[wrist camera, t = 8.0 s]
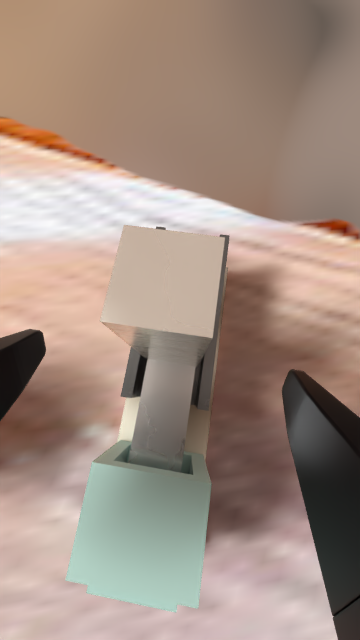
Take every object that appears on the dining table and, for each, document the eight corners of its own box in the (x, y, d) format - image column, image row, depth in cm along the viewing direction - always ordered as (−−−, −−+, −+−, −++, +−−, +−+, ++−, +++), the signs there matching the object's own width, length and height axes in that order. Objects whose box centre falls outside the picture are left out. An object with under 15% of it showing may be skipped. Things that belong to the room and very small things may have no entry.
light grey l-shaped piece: (159, 321, 18) (124, 224, 7) (201, 327, 18) (224, 237, 7) (123, 517, 15) (-27, 826, 4) (173, 526, 14) (146, 873, 4)
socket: (120, 439, 17) (92, 462, 12) (203, 454, 17) (211, 484, 11) (101, 532, 15) (60, 604, 10) (191, 550, 15) (195, 633, 10)
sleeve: (162, 258, 21) (156, 226, 16) (220, 266, 20) (229, 235, 16) (135, 395, 18) (120, 396, 14) (203, 406, 17) (208, 411, 13)
